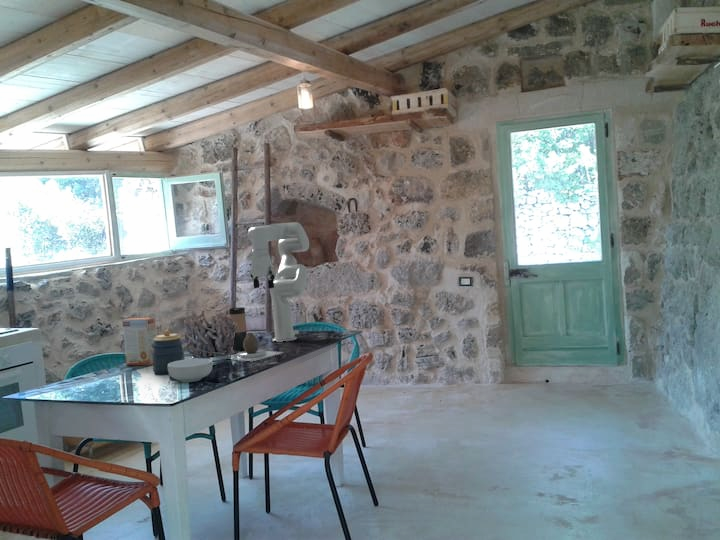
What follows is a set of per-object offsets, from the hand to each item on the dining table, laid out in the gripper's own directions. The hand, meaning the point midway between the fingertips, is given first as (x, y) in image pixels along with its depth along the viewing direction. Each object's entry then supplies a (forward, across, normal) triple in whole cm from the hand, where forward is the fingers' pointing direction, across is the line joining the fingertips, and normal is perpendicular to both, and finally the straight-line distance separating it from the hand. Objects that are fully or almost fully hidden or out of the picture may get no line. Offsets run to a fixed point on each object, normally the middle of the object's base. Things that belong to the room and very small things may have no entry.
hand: (264, 288), depth 311 cm
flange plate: (+28, +8, -20) cm, 36 cm away
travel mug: (+29, -13, -7) cm, 33 cm away
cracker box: (+28, -31, -50) cm, 65 cm away
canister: (+28, -3, -57) cm, 63 cm away
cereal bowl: (+27, +20, -65) cm, 73 cm away
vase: (+27, +8, -20) cm, 34 cm away
